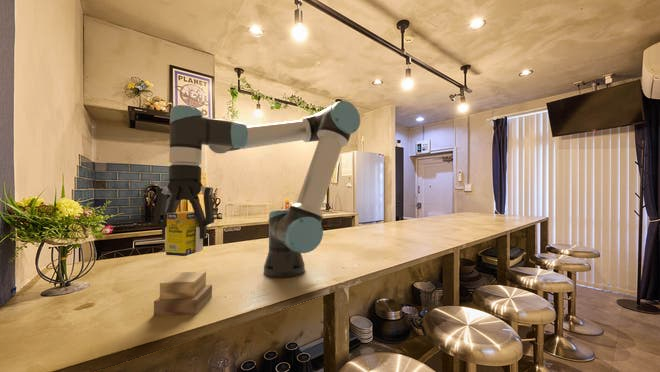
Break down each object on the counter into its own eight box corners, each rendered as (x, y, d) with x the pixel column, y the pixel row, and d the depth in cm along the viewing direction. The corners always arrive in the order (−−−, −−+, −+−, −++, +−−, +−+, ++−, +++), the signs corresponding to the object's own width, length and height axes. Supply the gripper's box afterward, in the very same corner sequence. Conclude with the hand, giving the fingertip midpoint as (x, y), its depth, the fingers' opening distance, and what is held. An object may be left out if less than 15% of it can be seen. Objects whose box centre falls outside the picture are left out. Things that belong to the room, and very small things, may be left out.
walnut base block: (211, 298, 72) (212, 284, 72) (196, 316, 62) (196, 299, 62) (175, 299, 71) (175, 285, 71) (153, 317, 61) (153, 301, 61)
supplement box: (185, 256, 64) (186, 213, 64) (165, 255, 65) (166, 212, 65) (201, 251, 70) (202, 211, 70) (183, 250, 71) (183, 211, 71)
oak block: (205, 285, 71) (205, 271, 71) (193, 297, 63) (194, 281, 63) (175, 286, 70) (175, 272, 70) (159, 299, 63) (159, 283, 63)
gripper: (228, 167, 72) (227, 247, 72) (155, 165, 71) (153, 248, 70) (219, 164, 65) (217, 254, 65) (136, 163, 63) (135, 255, 63)
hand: (184, 250), depth 67 cm, fingers closed on supplement box, 7 cm apart
